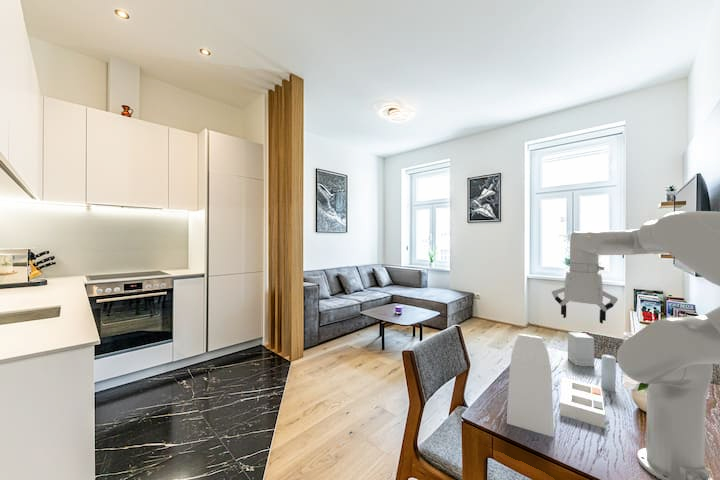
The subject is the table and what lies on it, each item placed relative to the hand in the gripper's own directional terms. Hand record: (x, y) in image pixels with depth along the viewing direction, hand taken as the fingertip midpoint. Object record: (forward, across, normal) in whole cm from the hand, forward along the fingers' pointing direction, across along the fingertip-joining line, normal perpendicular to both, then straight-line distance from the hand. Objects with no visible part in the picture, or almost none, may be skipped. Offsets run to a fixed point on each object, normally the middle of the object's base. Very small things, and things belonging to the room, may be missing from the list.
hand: (582, 319), depth 97 cm
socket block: (+29, 0, 0) cm, 29 cm away
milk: (+29, +12, +19) cm, 37 cm away
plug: (+29, -8, -19) cm, 36 cm away
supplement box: (+30, 0, -40) cm, 50 cm away
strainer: (+30, -18, -49) cm, 60 cm away
